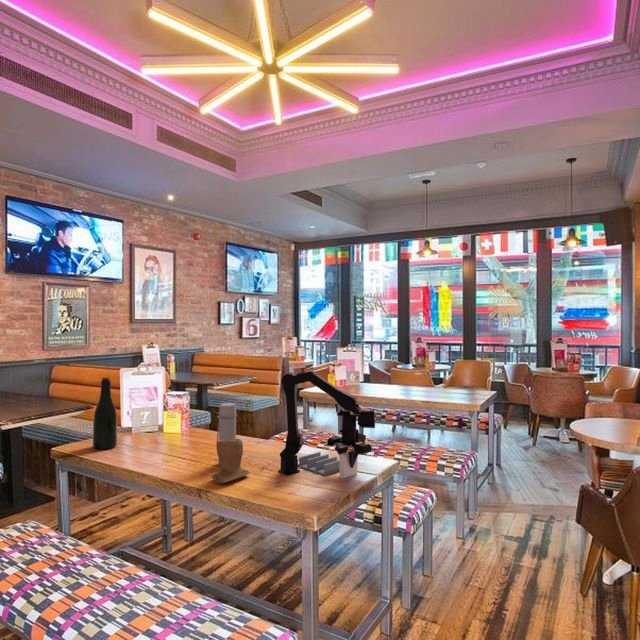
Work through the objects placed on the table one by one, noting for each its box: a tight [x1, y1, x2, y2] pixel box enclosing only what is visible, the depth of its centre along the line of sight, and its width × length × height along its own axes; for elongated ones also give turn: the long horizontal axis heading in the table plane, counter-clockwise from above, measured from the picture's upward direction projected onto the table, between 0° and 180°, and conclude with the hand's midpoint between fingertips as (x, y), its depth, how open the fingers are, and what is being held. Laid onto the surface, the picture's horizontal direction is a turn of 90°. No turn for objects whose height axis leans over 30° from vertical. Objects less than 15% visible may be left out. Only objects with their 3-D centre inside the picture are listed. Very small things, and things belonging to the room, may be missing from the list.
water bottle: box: [215, 402, 237, 465], centre depth 198 cm, size 9×8×25 cm
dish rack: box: [298, 451, 340, 476], centre depth 194 cm, size 14×16×4 cm
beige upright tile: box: [338, 451, 359, 479], centre depth 184 cm, size 8×2×9 cm, turn 135°
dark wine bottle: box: [92, 377, 118, 451], centre depth 221 cm, size 10×10×33 cm
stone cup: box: [210, 438, 250, 485], centre depth 179 cm, size 15×12×15 cm
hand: (348, 466), depth 184 cm, fingers open, 3 cm apart
